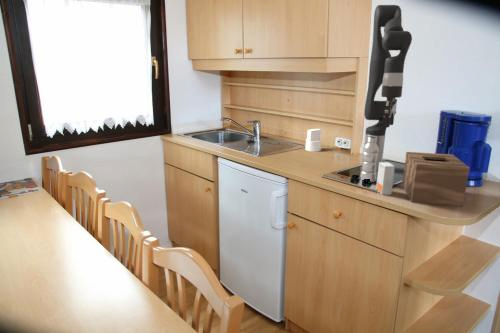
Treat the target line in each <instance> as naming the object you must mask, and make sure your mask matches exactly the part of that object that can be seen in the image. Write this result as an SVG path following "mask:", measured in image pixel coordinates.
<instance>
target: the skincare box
mask: <svg viewBox="0 0 500 333" xmlns="http://www.w3.org/2000/svg"><path fill="white" fill-rule="evenodd" d="M395 168H396V166H395V165H394V164H393V163H391V162H383V161H382V162H379V168H378V170H377V176H376V179H377V180H376V188H375V190H376V189H378V190H379V191H380V193H379V194H380V195H381V196H382V195H383V196H386V195H387V196H389V195H392V193H393V185H394V178H395Z"/></svg>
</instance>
